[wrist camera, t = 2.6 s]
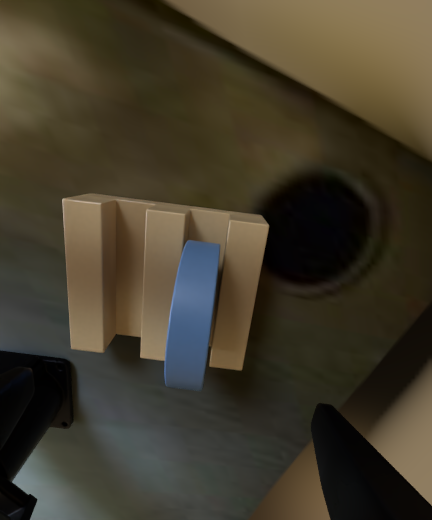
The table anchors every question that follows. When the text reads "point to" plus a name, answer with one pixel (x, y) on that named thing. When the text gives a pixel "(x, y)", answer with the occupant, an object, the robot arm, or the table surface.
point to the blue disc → (191, 316)
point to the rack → (156, 271)
